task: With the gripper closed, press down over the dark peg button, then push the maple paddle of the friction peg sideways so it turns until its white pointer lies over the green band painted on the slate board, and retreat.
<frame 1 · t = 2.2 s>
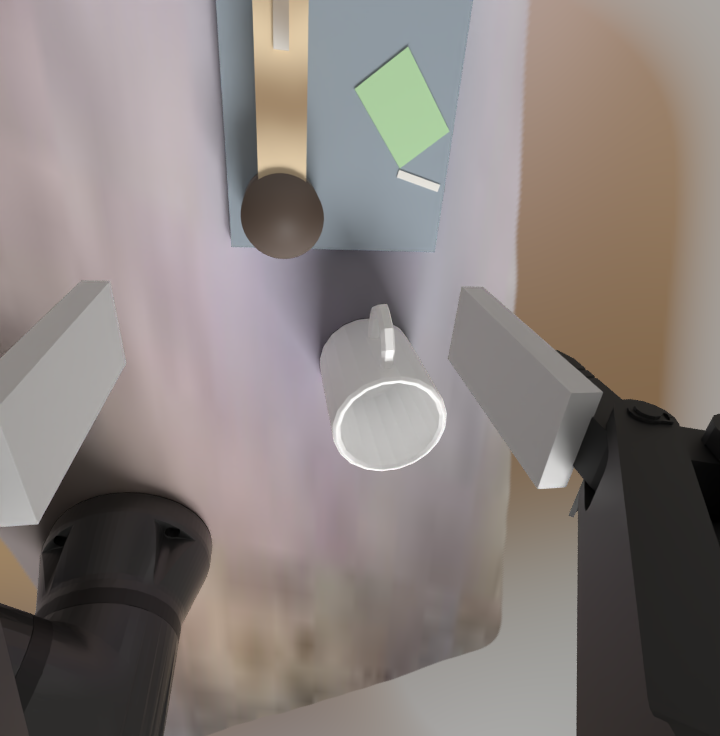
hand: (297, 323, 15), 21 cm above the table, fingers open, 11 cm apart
mug: (365, 338, 40), on the table
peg: (281, 133, 28), point 3 cm above the table, hinge at 90.0°
board: (340, 126, 31), on the table
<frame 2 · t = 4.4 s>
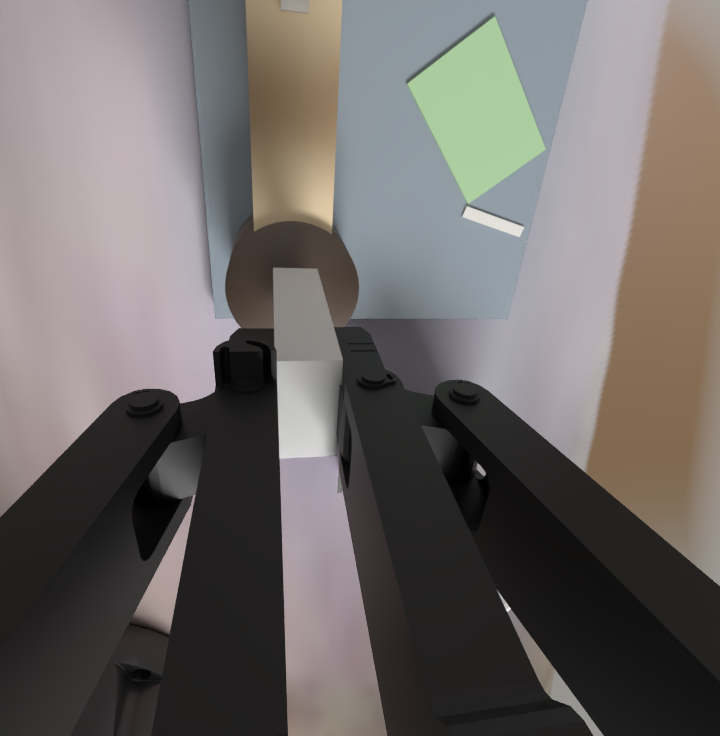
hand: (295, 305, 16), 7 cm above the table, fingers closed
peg: (291, 155, 17), point 3 cm above the table, hinge at 90.0°
board: (380, 140, 20), on the table
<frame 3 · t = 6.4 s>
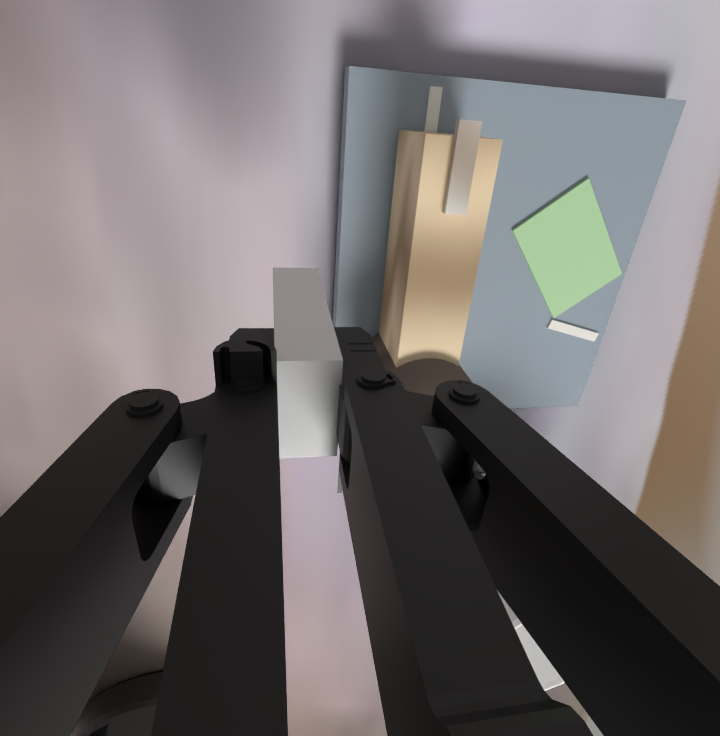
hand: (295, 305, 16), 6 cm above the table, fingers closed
mug: (473, 493, 32), on the table
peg: (424, 300, 20), point 3 cm above the table, hinge at 90.0°
board: (480, 267, 24), on the table
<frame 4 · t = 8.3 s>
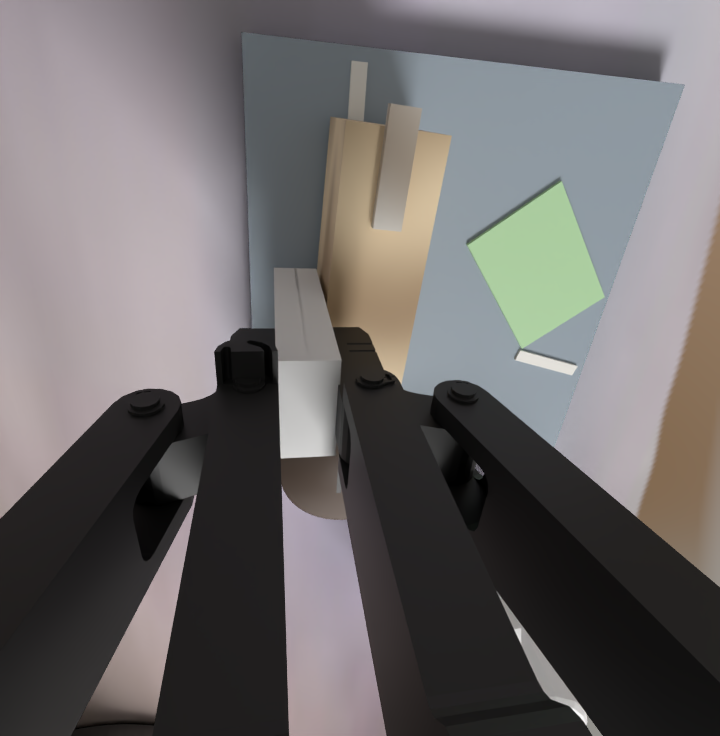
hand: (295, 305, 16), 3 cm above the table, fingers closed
mug: (437, 538, 28), on the table
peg: (357, 333, 16), point 3 cm above the table, hinge at 87.0°, touching gripper
board: (432, 287, 20), on the table
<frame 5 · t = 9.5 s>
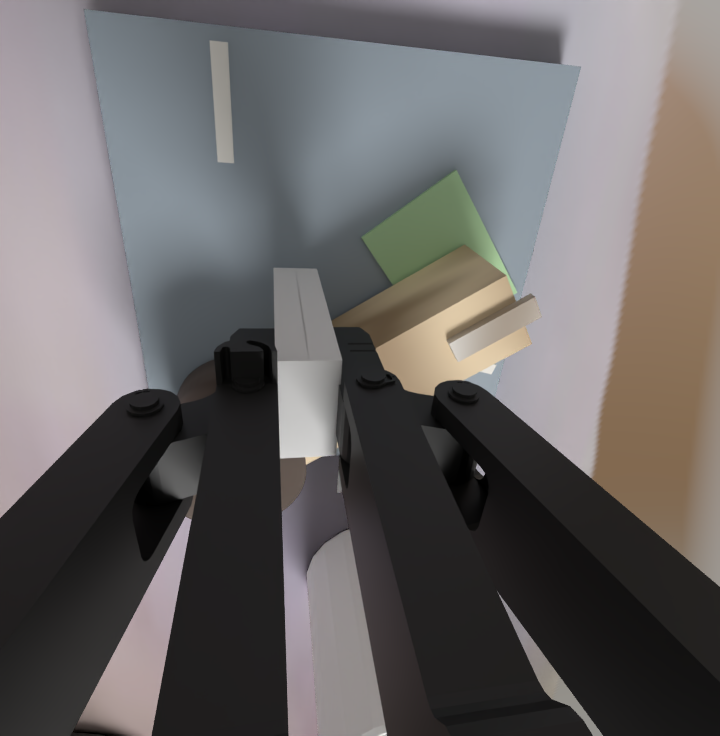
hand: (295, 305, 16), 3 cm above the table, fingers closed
mug: (372, 542, 27), on the table
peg: (339, 381, 17), point 3 cm above the table, hinge at 32.7°, touching gripper
board: (337, 283, 19), on the table
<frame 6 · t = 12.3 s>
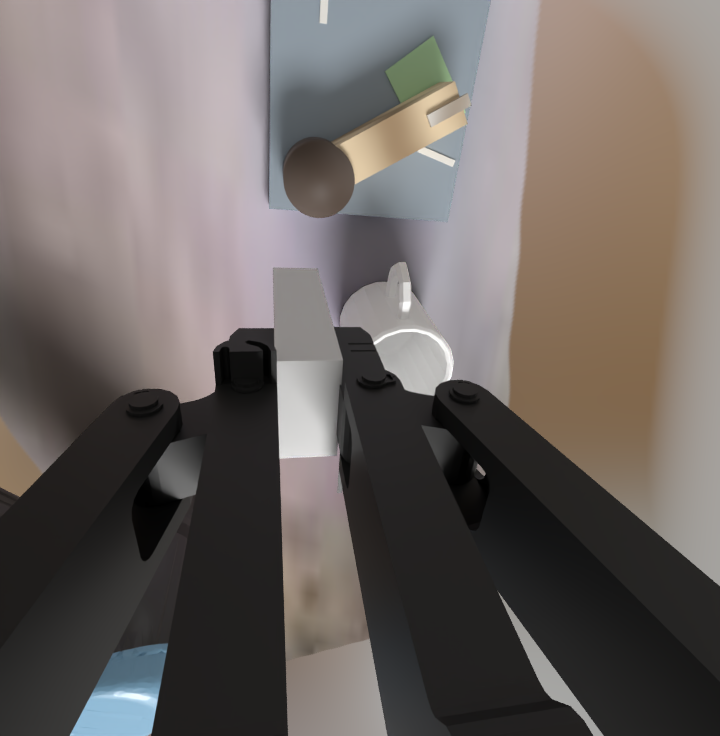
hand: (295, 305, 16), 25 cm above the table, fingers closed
mug: (381, 300, 44), on the table
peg: (372, 147, 34), point 3 cm above the table, hinge at 31.5°
board: (370, 104, 35), on the table
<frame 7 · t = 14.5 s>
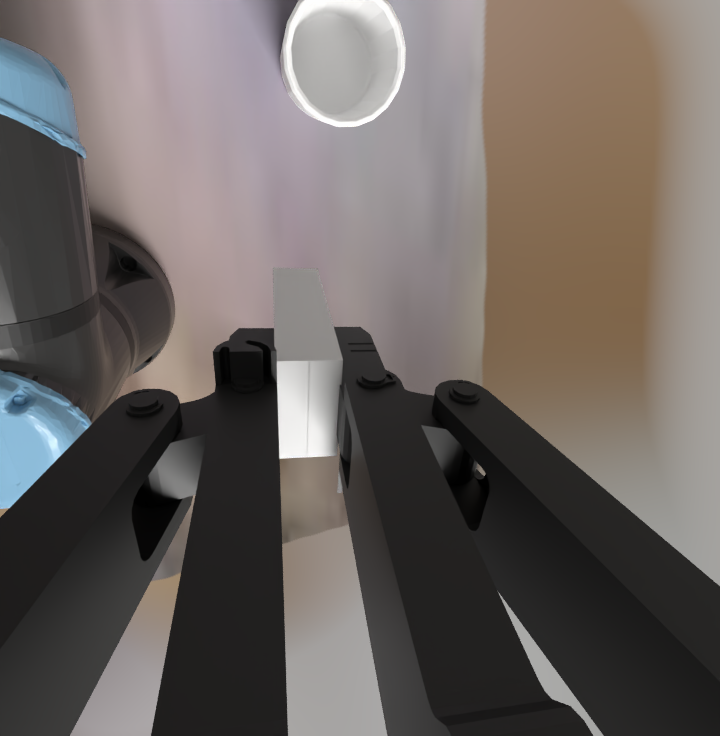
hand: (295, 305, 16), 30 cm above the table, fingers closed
mug: (328, 37, 38), on the table
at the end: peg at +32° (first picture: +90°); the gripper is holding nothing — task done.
